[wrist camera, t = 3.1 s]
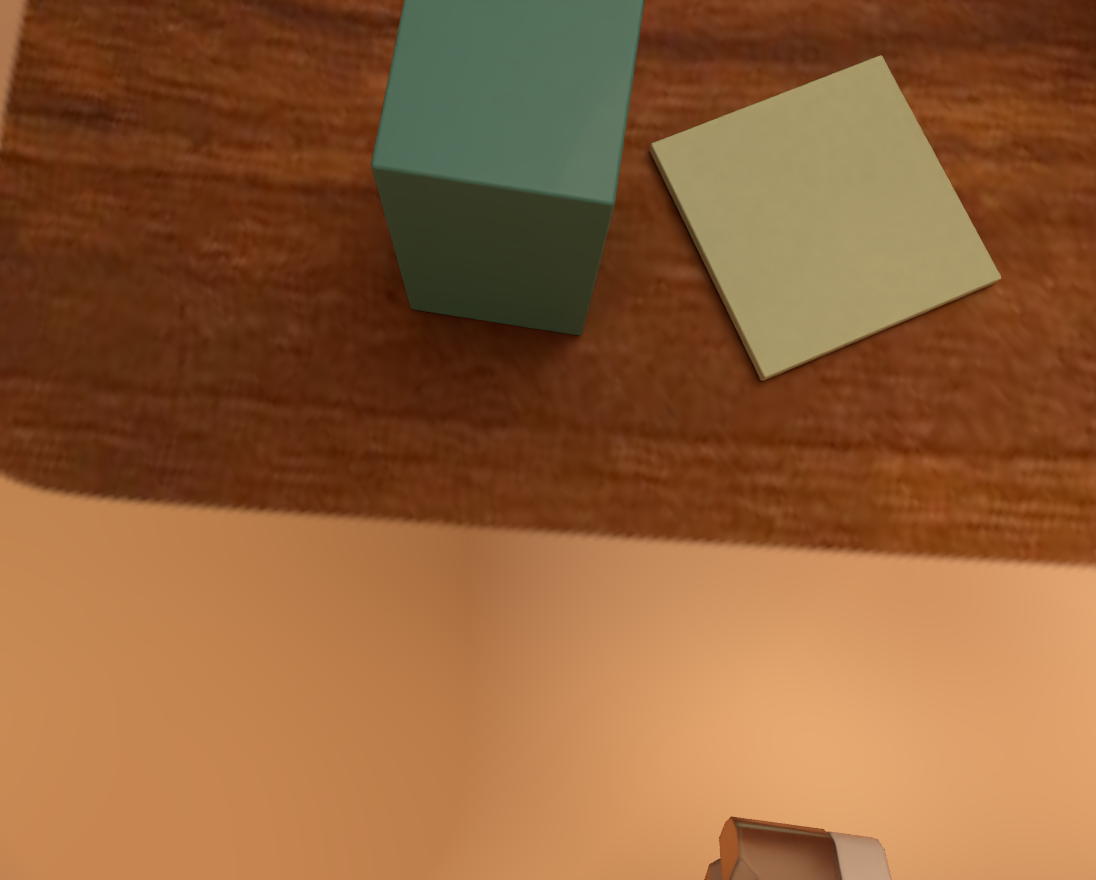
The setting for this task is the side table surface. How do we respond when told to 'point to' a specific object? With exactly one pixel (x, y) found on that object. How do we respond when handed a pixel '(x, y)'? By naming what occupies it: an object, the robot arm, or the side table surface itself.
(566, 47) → the teal block
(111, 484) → the side table surface
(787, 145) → the sage mat
